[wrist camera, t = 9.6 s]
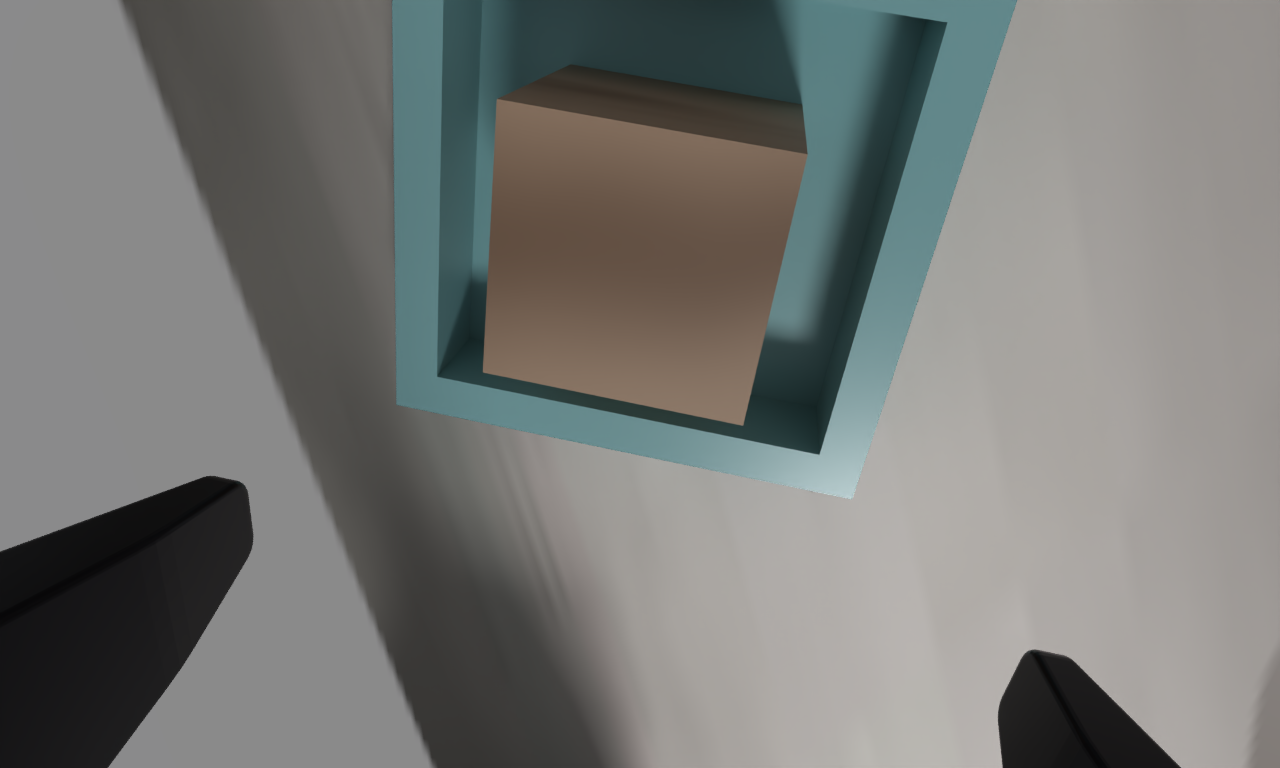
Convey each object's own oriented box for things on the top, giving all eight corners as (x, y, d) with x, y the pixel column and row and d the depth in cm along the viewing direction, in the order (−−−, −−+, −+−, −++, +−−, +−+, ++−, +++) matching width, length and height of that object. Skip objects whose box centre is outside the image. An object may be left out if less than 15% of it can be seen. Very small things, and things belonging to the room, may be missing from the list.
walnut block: (753, 320, 19) (743, 426, 15) (550, 280, 20) (482, 372, 15) (802, 104, 17) (807, 154, 12) (570, 64, 17) (496, 98, 13)
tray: (844, 433, 21) (852, 499, 18) (443, 352, 22) (396, 404, 19) (988, -35, 16) (1028, -34, 13) (452, -117, 17) (390, -132, 14)
